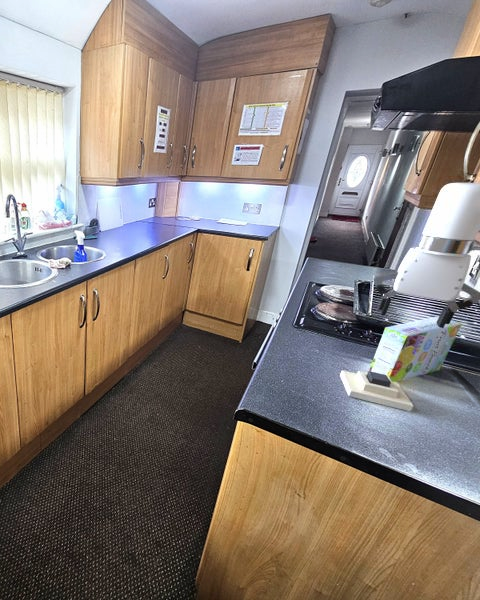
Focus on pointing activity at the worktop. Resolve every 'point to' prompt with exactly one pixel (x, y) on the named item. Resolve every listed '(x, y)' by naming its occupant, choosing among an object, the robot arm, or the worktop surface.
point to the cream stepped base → (375, 391)
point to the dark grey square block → (378, 379)
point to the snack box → (413, 348)
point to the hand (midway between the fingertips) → (409, 319)
